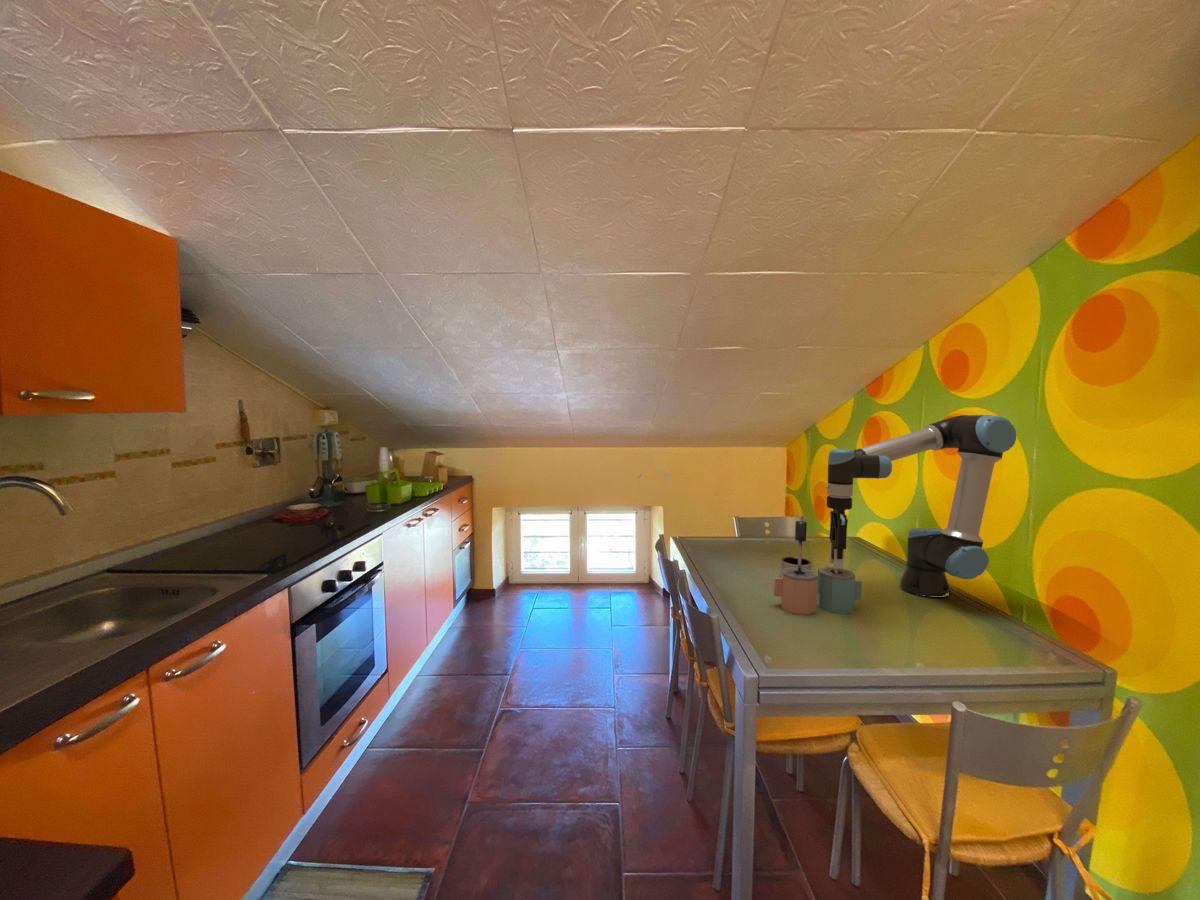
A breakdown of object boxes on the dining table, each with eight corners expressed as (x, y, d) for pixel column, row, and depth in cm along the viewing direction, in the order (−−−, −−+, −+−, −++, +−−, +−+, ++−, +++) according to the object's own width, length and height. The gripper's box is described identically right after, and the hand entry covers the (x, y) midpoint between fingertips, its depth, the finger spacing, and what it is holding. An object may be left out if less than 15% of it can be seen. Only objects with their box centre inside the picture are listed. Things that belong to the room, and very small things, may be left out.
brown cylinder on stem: (809, 577, 160) (812, 520, 159) (814, 586, 153) (816, 525, 151) (784, 575, 163) (786, 518, 161) (787, 583, 155) (789, 523, 153)
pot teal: (855, 603, 162) (857, 569, 161) (864, 615, 152) (865, 579, 151) (815, 599, 165) (816, 565, 165) (820, 611, 155) (822, 575, 155)
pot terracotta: (812, 603, 162) (813, 569, 161) (817, 615, 152) (819, 579, 151) (772, 599, 165) (773, 565, 164) (775, 611, 155) (776, 575, 154)
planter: (805, 581, 184) (806, 556, 183) (815, 591, 173) (816, 565, 172) (776, 580, 185) (777, 555, 184) (784, 590, 174) (785, 564, 173)
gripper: (821, 491, 166) (819, 556, 168) (832, 500, 149) (829, 573, 150) (845, 492, 164) (842, 558, 166) (859, 501, 147) (856, 575, 148)
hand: (836, 565), depth 158 cm, fingers open, 5 cm apart
